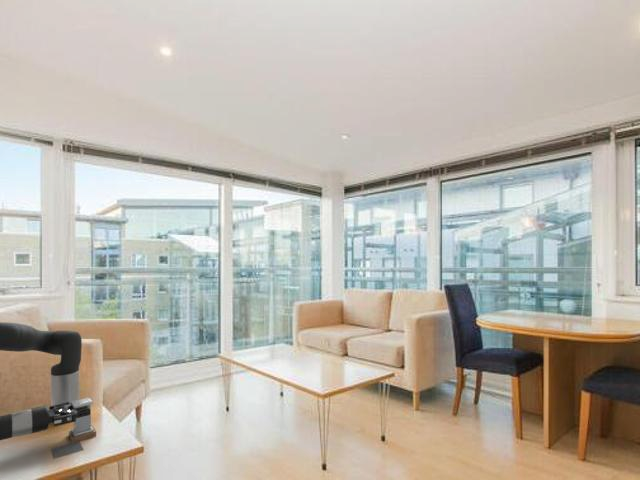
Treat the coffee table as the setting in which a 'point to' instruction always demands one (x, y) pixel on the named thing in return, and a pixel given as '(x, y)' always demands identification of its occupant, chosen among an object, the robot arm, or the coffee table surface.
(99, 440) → the coffee table surface
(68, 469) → the coffee table surface
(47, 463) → the coffee table surface
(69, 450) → the mat
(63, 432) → the coffee table surface
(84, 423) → the housing
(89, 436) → the plinth
